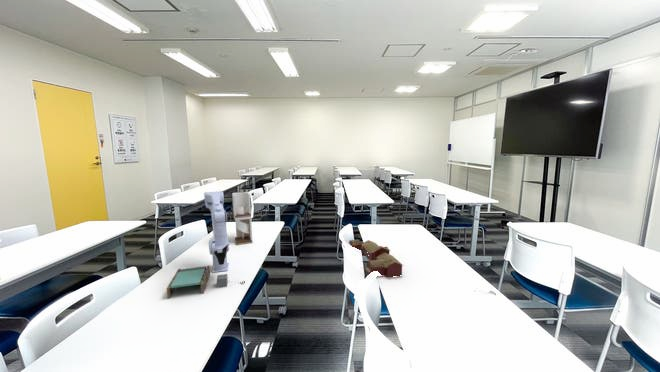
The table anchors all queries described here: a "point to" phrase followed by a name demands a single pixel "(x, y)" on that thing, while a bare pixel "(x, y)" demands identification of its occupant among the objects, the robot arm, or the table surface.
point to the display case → (242, 217)
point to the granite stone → (222, 280)
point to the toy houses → (379, 258)
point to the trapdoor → (188, 277)
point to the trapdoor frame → (203, 282)
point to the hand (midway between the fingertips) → (222, 261)
